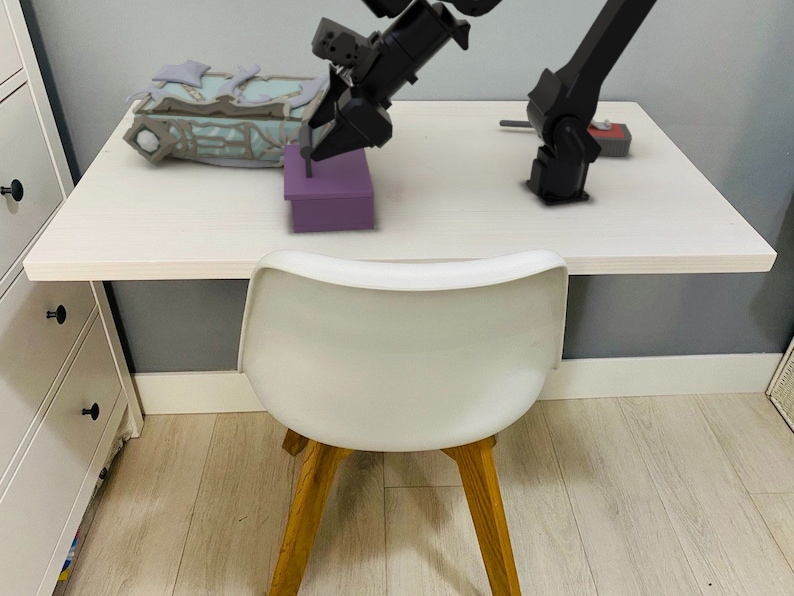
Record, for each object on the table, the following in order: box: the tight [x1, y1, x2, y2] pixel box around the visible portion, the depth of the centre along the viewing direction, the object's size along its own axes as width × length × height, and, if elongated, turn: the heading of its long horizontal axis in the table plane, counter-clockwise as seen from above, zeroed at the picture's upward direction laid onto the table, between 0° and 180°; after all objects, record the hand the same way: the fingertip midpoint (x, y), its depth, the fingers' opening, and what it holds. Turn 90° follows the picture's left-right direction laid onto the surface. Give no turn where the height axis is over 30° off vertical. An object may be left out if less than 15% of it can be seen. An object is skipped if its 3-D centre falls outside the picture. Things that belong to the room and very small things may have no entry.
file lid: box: [283, 125, 375, 202], centre depth 80 cm, size 10×14×5 cm
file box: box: [290, 196, 375, 233], centre depth 83 cm, size 10×14×4 cm
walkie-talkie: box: [498, 118, 633, 157], centre depth 100 cm, size 9×4×20 cm
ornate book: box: [121, 58, 334, 168], centre depth 96 cm, size 23×10×30 cm
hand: (311, 142), depth 79 cm, fingers open, 9 cm apart
